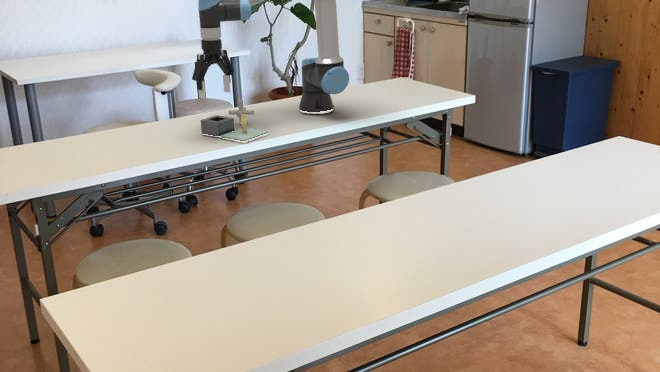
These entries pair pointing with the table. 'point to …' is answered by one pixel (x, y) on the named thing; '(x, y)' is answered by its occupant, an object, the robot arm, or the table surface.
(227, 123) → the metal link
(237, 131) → the keeper board
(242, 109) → the pipe connector
